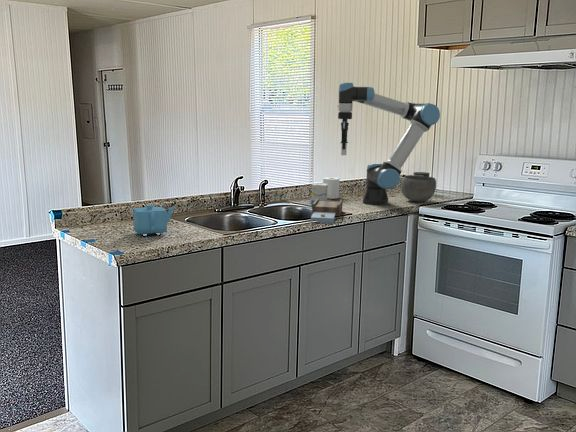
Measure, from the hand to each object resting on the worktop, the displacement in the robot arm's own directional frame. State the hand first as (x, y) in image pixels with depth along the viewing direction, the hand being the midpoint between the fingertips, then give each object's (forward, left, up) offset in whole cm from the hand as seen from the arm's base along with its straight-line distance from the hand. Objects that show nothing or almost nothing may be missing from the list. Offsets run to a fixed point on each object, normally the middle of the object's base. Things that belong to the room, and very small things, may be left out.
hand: (343, 155), depth 311 cm
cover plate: (+6, +37, -30) cm, 48 cm away
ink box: (+14, -9, -30) cm, 34 cm away
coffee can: (-46, -65, -30) cm, 85 cm away
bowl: (-43, -34, -30) cm, 62 cm away
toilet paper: (+10, -35, -30) cm, 47 cm away
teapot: (+73, +87, -30) cm, 117 cm away
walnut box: (+6, +20, -29) cm, 36 cm away
